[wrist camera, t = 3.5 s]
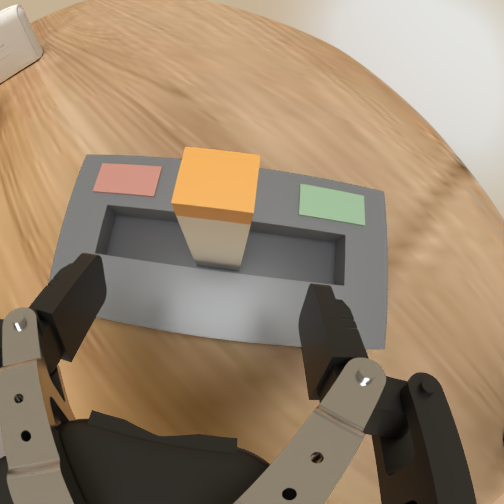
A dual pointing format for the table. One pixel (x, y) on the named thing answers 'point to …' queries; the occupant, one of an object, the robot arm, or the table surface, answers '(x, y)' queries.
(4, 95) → the table surface
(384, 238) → the slotted lever switch base
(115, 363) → the table surface
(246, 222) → the handle
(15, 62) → the photo printer
